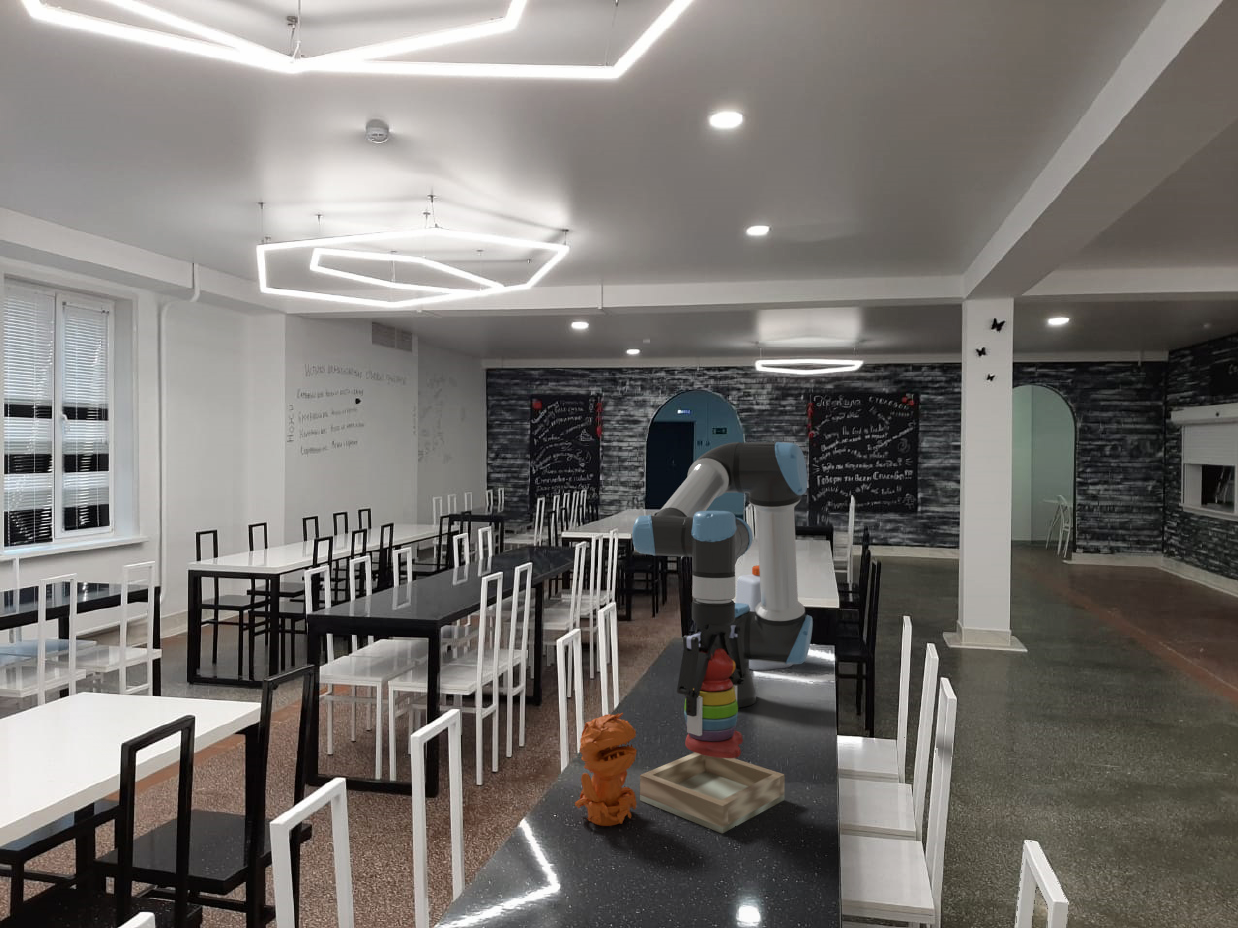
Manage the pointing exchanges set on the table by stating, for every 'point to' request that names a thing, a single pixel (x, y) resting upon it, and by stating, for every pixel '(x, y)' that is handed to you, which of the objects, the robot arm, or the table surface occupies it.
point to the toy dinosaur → (607, 769)
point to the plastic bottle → (751, 595)
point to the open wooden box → (712, 790)
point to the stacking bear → (717, 711)
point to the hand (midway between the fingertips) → (712, 726)
